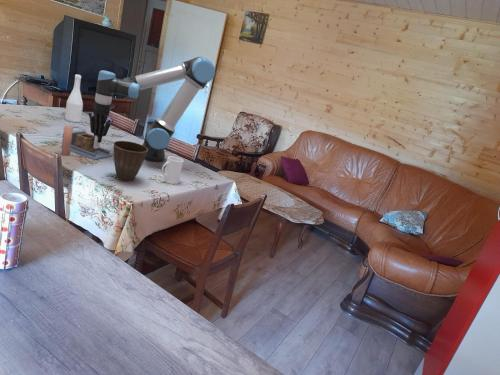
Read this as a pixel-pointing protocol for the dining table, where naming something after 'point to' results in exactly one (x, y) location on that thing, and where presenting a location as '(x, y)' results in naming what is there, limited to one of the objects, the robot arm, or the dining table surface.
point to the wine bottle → (74, 103)
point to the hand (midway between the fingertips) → (96, 147)
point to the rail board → (92, 155)
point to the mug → (172, 170)
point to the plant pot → (128, 159)
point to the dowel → (67, 140)
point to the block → (85, 142)
